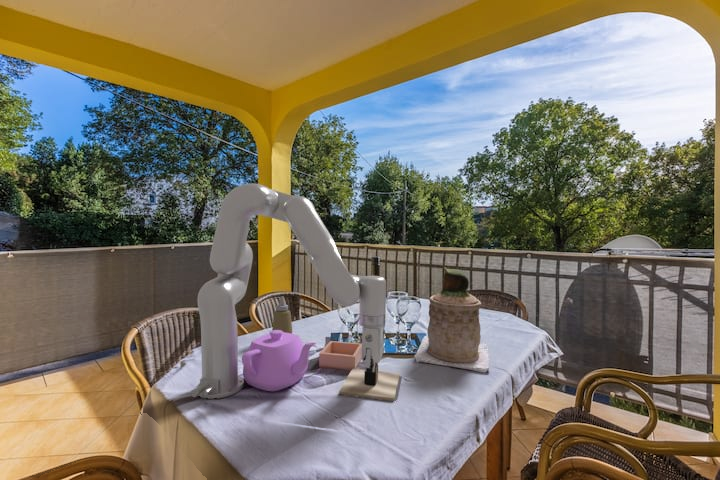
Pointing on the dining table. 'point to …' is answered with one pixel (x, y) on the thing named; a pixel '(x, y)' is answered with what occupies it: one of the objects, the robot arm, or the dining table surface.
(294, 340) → the teapot
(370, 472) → the dining table surface
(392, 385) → the lid
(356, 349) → the dish
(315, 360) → the dining table surface
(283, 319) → the squeeze bottle
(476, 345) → the cookie jar
